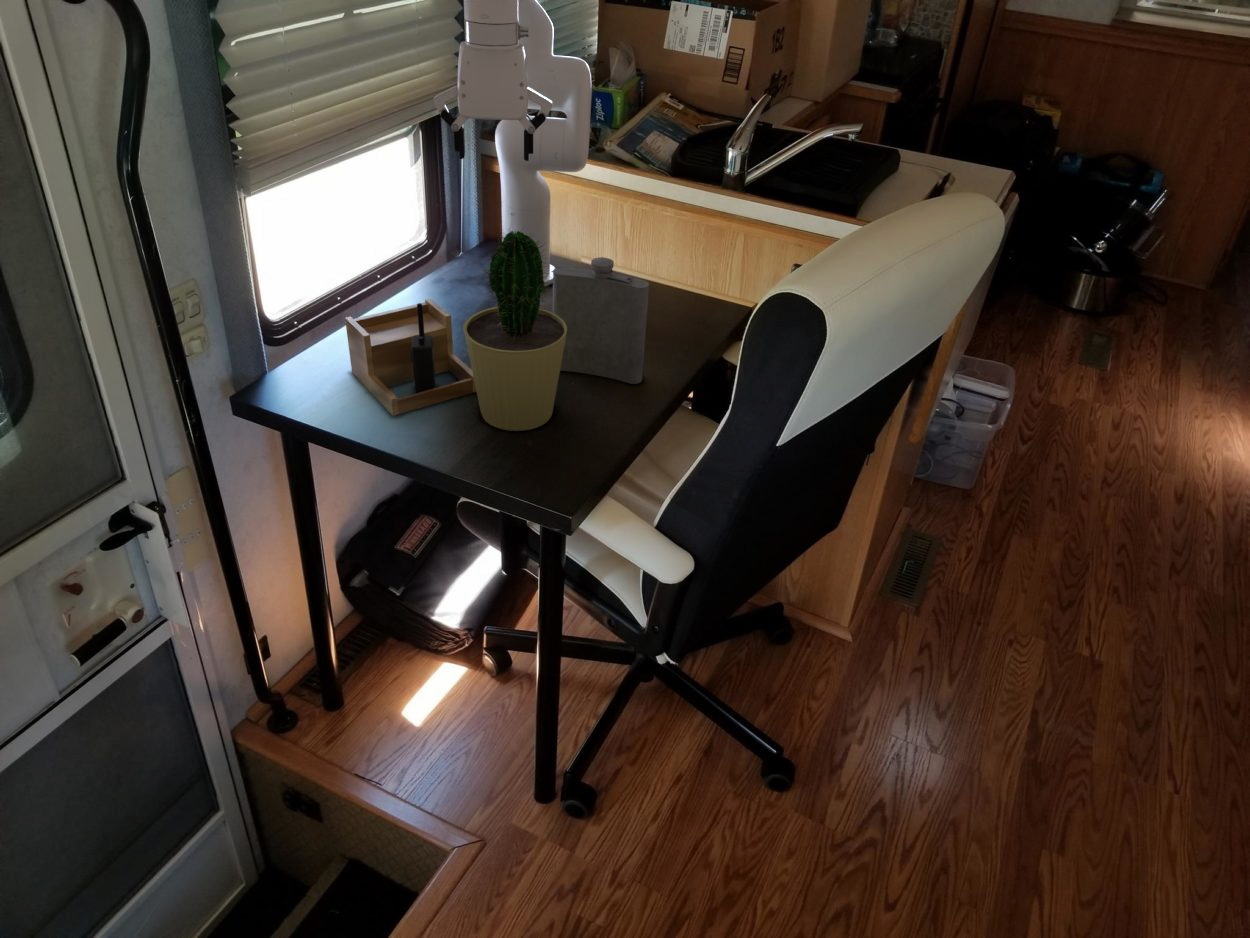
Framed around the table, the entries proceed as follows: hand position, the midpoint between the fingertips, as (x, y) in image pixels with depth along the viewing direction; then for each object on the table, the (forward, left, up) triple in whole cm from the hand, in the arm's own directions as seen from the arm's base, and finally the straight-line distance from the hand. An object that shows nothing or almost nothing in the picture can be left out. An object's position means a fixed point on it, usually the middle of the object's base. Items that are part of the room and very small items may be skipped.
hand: (494, 157), depth 141 cm
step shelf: (-1, -16, -35) cm, 38 cm away
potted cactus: (+16, -6, -35) cm, 39 cm away
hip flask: (+12, +12, -35) cm, 39 cm away
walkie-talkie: (+3, -16, -35) cm, 38 cm away
